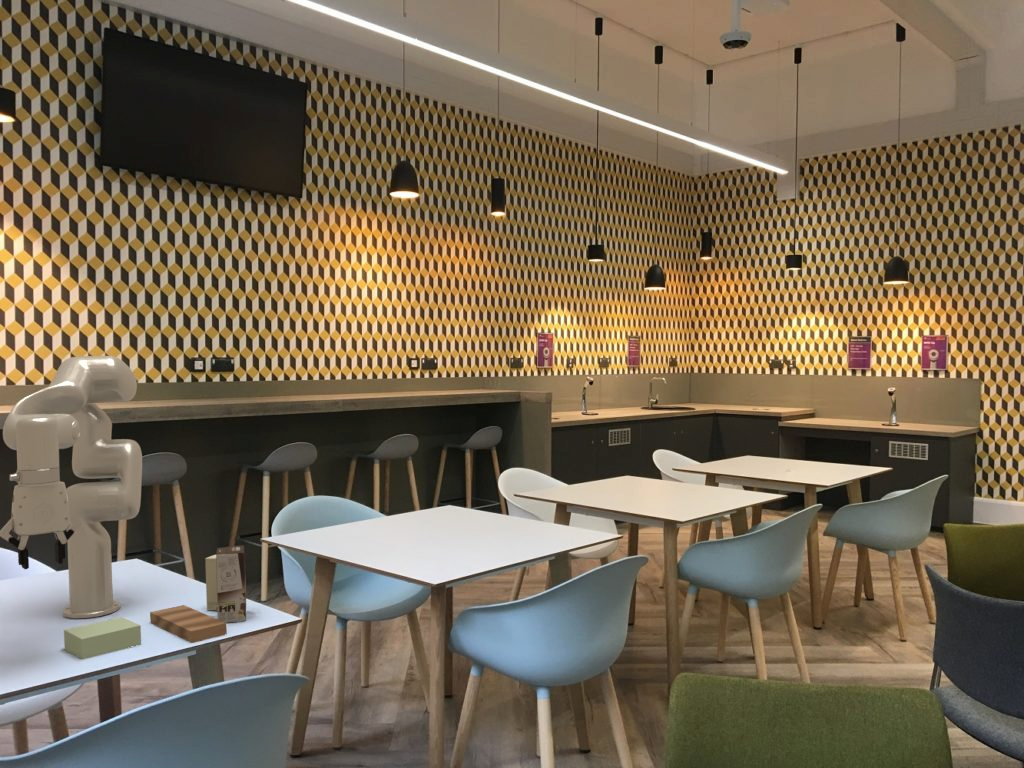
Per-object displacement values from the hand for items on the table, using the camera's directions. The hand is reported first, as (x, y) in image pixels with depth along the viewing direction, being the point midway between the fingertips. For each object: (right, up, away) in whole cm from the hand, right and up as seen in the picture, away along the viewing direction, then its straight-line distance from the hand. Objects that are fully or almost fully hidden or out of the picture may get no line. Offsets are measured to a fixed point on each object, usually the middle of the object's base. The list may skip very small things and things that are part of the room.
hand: (42, 564), depth 178 cm
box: (+24, -18, +36) cm, 47 cm away
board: (+23, -19, +19) cm, 35 cm away
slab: (+9, -20, +8) cm, 23 cm away
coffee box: (+30, -18, +27) cm, 45 cm away
